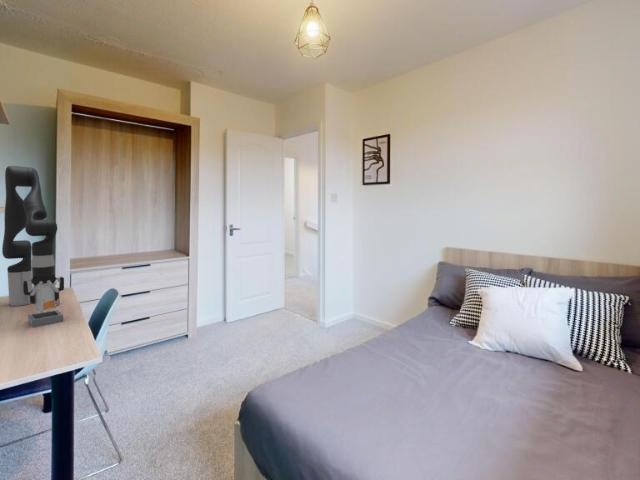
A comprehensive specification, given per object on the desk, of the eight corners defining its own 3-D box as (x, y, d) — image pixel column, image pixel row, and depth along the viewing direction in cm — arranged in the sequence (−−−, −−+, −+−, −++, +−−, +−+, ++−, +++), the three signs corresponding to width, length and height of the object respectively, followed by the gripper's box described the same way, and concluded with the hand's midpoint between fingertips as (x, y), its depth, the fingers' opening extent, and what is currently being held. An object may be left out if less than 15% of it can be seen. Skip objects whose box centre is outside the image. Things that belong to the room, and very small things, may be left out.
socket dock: (28, 321, 142) (27, 314, 142) (57, 316, 150) (57, 309, 150) (32, 327, 136) (32, 320, 136) (63, 321, 144) (63, 314, 143)
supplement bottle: (43, 304, 167) (42, 280, 166) (59, 302, 172) (58, 279, 171) (43, 307, 162) (42, 282, 161) (60, 305, 167) (59, 281, 166)
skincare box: (42, 311, 139) (40, 284, 138) (34, 311, 140) (32, 284, 139) (56, 307, 145) (55, 281, 144) (48, 307, 146) (47, 281, 145)
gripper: (61, 262, 149) (63, 297, 150) (19, 265, 138) (21, 303, 139) (65, 264, 144) (67, 300, 145) (22, 268, 133) (24, 307, 135)
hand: (44, 301), depth 142 cm, fingers closed on skincare box, 7 cm apart
